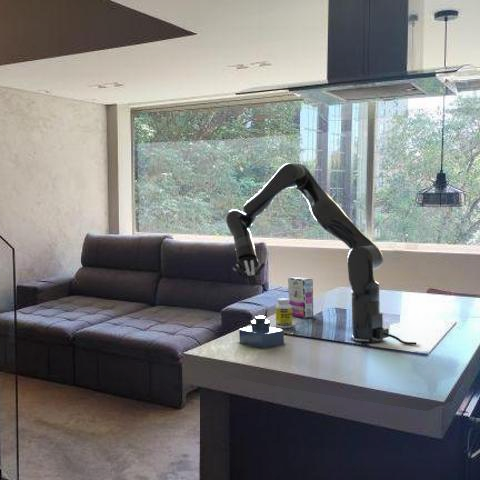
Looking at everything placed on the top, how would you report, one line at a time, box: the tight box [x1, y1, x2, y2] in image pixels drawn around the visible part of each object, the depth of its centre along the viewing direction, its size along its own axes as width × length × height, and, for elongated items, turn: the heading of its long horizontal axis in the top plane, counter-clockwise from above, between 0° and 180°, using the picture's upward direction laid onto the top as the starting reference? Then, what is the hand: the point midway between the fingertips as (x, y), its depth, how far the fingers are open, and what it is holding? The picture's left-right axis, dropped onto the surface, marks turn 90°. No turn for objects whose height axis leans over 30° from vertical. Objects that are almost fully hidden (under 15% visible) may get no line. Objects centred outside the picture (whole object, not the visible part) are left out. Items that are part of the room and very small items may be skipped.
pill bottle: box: [275, 297, 293, 329], centre depth 234 cm, size 6×6×11 cm
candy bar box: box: [287, 276, 314, 319], centre depth 253 cm, size 11×5×16 cm, turn 24°
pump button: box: [254, 315, 266, 323], centre depth 213 cm, size 4×4×2 cm
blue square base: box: [238, 319, 285, 350], centre depth 209 cm, size 12×11×7 cm
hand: (252, 285), depth 223 cm, fingers closed
